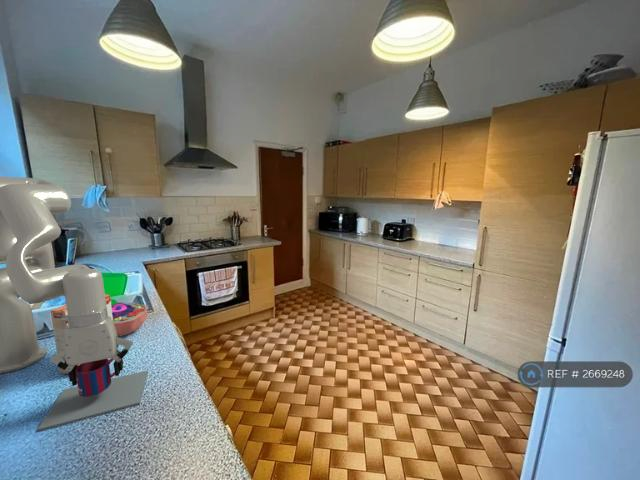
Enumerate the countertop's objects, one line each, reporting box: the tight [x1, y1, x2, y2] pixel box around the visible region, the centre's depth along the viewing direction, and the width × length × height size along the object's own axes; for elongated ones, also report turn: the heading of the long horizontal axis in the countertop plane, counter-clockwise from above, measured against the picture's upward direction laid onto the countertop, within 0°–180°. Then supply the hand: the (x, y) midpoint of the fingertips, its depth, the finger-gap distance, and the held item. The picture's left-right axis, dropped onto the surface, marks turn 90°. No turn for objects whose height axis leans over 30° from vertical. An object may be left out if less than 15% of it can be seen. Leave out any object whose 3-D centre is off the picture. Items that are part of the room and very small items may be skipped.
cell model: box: [111, 302, 149, 337], centre depth 105 cm, size 17×20×11 cm
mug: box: [75, 358, 124, 397], centre depth 72 cm, size 7×10×7 cm
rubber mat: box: [37, 370, 149, 433], centre depth 72 cm, size 20×14×1 cm
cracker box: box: [50, 294, 113, 375], centre depth 86 cm, size 14×6×21 cm, turn 168°
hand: (98, 377), depth 71 cm, fingers closed on mug, 8 cm apart
